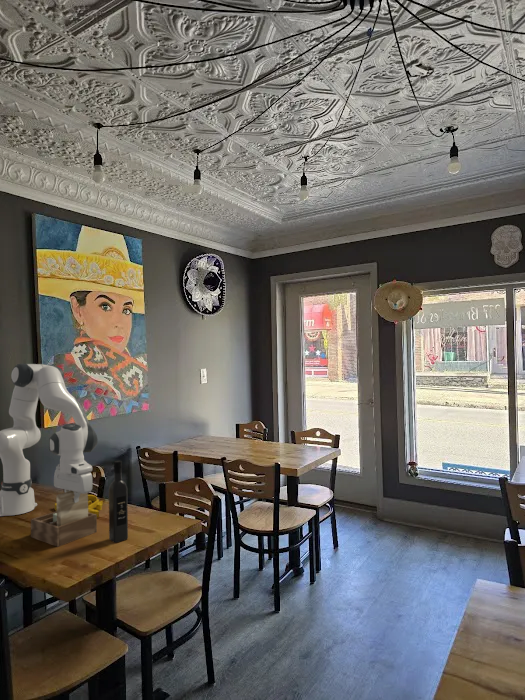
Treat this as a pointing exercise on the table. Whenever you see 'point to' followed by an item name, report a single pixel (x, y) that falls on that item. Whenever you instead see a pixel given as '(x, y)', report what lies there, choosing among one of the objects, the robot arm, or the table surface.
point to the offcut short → (55, 517)
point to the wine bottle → (118, 506)
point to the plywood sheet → (71, 508)
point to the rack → (62, 529)
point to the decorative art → (92, 505)
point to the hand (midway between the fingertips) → (72, 501)
